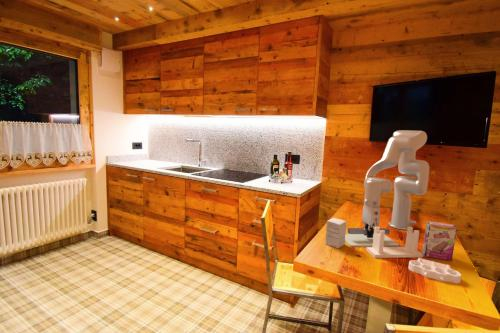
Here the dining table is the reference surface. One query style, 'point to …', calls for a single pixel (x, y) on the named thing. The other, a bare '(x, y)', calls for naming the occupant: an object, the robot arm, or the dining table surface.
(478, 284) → the dining table surface
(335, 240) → the supplement box
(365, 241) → the mat
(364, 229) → the rail
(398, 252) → the hook rack
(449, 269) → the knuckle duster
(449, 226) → the candy bar box
